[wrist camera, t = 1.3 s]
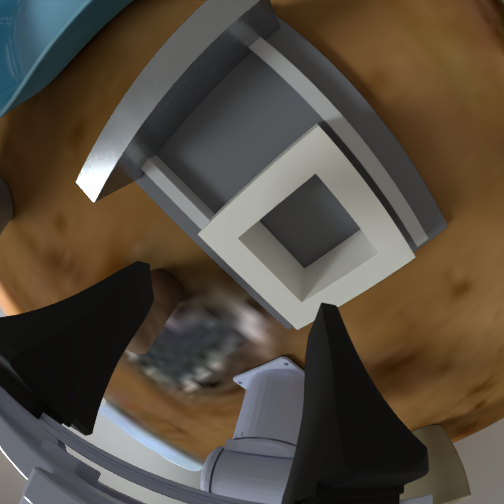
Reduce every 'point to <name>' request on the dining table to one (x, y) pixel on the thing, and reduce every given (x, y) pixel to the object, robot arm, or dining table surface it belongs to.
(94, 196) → the stop wall
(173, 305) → the dowel
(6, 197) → the vase
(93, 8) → the casserole dish
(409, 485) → the plant pot
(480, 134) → the dining table surface
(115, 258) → the dining table surface
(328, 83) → the slide board
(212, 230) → the sliding block
